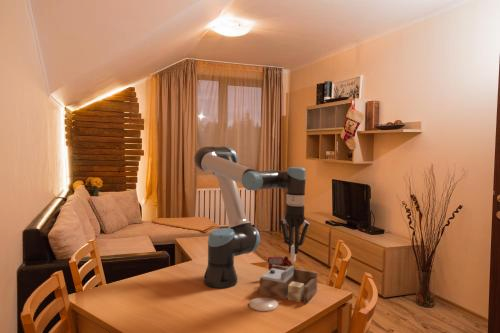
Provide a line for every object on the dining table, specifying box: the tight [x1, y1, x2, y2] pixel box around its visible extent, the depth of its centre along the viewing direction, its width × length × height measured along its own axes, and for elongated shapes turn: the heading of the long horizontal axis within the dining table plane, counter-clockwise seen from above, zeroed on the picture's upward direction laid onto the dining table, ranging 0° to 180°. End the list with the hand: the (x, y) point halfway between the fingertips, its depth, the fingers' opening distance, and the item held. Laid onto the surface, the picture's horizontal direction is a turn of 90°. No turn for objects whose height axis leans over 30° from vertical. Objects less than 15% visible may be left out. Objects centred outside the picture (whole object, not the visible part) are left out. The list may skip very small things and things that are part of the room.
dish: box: [249, 297, 279, 312], centre depth 142 cm, size 11×11×1 cm
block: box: [287, 281, 304, 303], centre depth 148 cm, size 5×5×6 cm
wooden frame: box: [259, 265, 319, 304], centre depth 154 cm, size 20×14×8 cm
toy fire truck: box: [267, 255, 294, 271], centre depth 171 cm, size 7×12×10 cm, turn 98°
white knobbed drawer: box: [260, 264, 295, 283], centre depth 155 cm, size 10×12×4 cm
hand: (293, 261), depth 152 cm, fingers closed
